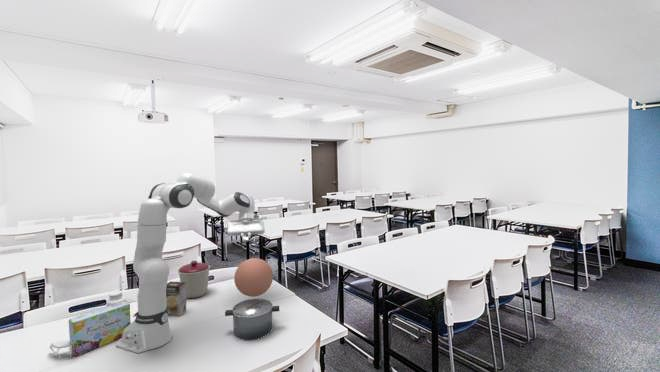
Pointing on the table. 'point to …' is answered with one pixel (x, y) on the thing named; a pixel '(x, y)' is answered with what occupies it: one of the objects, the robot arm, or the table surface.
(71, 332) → the snack box
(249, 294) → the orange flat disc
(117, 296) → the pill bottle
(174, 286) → the coffee box
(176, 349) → the table surface
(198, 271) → the canister
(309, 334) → the table surface
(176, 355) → the table surface
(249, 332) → the cooker pot
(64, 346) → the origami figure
